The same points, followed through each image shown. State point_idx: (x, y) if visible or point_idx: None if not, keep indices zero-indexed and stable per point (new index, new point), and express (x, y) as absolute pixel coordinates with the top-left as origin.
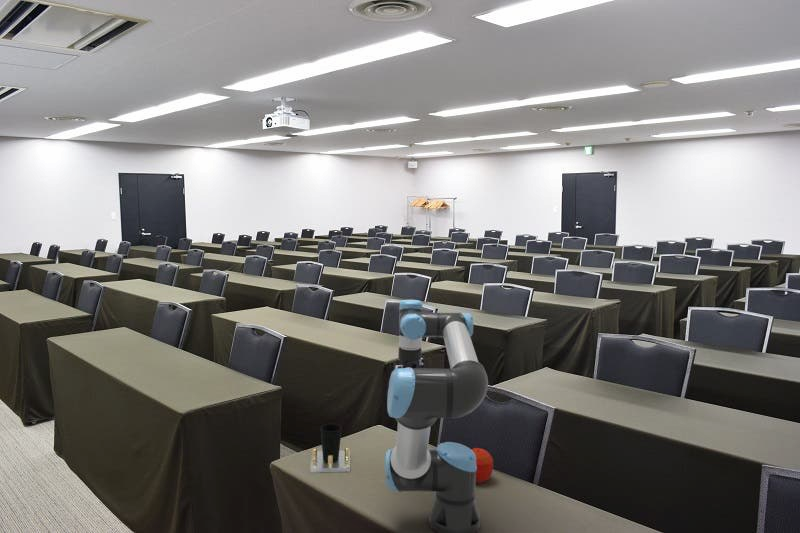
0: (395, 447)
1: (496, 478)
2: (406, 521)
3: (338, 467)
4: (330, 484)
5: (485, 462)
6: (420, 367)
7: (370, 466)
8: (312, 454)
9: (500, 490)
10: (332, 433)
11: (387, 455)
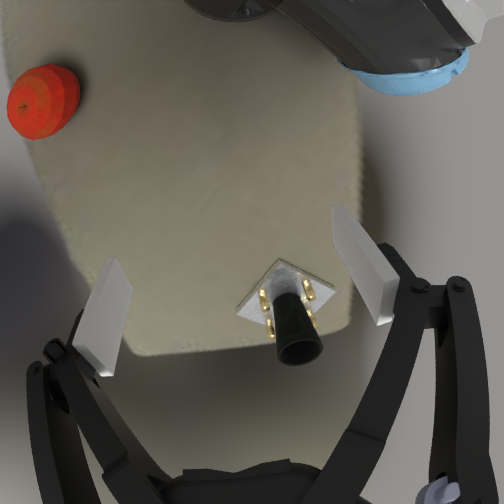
0: (480, 35)
1: None
2: None
3: (297, 274)
4: None
5: (36, 69)
6: (85, 493)
7: (230, 256)
8: None
9: (54, 38)
10: (312, 336)
11: (467, 59)
